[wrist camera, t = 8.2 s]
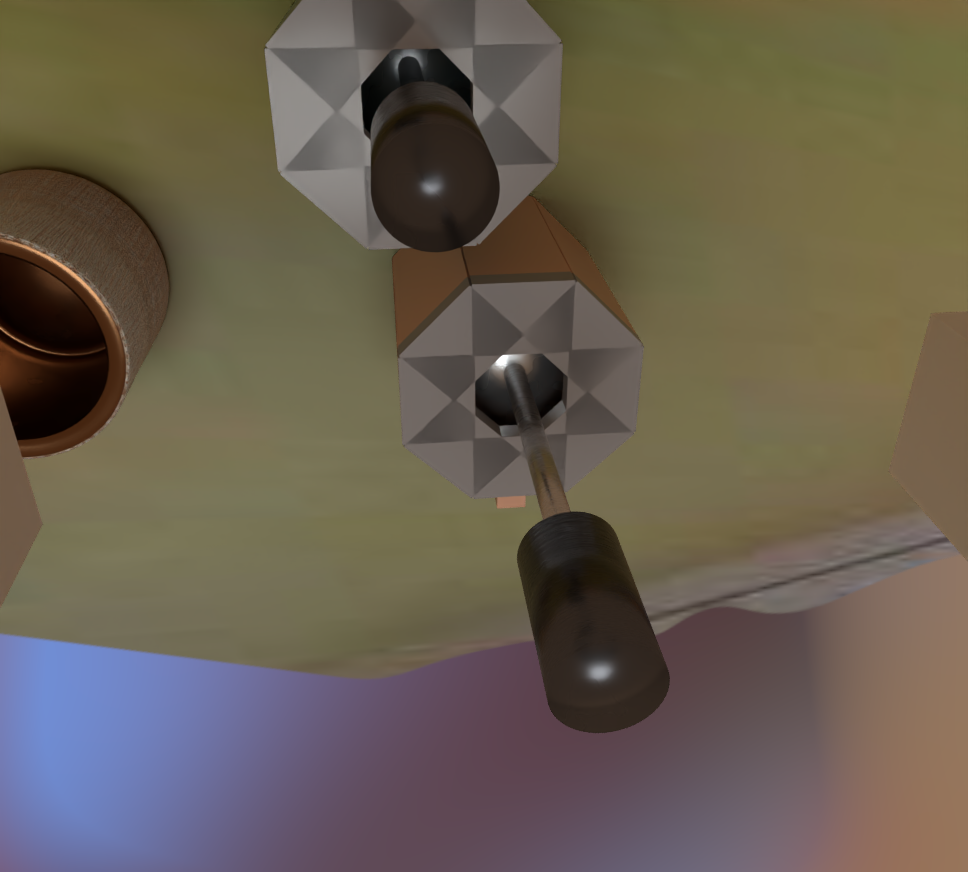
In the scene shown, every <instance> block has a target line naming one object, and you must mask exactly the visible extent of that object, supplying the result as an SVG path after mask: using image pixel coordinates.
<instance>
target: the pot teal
mask: <svg viewBox="0 0 968 872" xmlns="http://www.w3.org/2000/svg"><path fill="white" fill-rule="evenodd" d="M561 41H562V40H561V39H560V38H559V37H558V36H557V35H556V34H555V32H554V31H553V30H552V29H551V28H550V27H549V26H548V25H547V23H546V22H545V21H544V20H543V19H542V18H541V17H540V16H539V15H538V13H537V12H536V11H535V10H534V9H533V8H532V7H531V6H530V4H529V3H528V2H527V1H526V0H296V1H295V2H294V4H293V5H292V6H291V7H290V9H289V10H288V12H287V13H286V15H285V16H284V18H283V19H282V21H281V22H280V24H279V25H278V27H277V28H276V30H275V31H274V33H273V34H272V36H271V37H270V39H269V40H268V42H267V43H266V45H265V46H266V47H265V48H264V51H265V59H266V68H267V77H268V86H269V94H270V103H271V112H272V121H273V129H274V138H275V147H276V156H277V164H278V171H280V175H281V176H283V177H284V178H285V179H286V180H287V181H288V182H290V183H291V184H292V185H293V186H294V187H295V188H297V189H298V190H299V191H300V192H301V193H302V194H303V195H305V196H306V197H307V198H308V199H309V200H310V201H312V202H313V203H314V204H315V205H316V206H317V207H319V208H320V209H321V210H322V211H323V212H324V213H325V214H327V215H328V216H329V217H330V218H331V219H332V220H334V221H335V222H336V223H337V224H338V225H339V226H341V227H342V228H343V229H344V230H345V231H346V232H347V233H349V234H350V235H351V236H352V237H353V238H354V239H356V240H357V241H358V242H359V243H360V244H361V245H363V246H364V247H365V248H366V249H367V247H368V246H369V250H372V249H399V248H411V247H408V246H406V245H404V244H403V243H401V242H399V241H398V240H396V239H395V238H394V237H393V236H392V235H391V234H390V233H389V232H388V231H387V230H386V229H385V228H384V227H383V225H382V224H381V222H380V220H379V219H378V217H377V215H376V212H375V210H374V207H373V203H372V198H371V134H370V133H369V132H368V131H367V130H366V129H365V128H364V122H363V107H362V92H361V84H362V83H363V82H364V81H365V80H366V79H367V77H368V76H369V75H370V74H371V73H372V72H373V71H374V69H375V68H376V67H377V66H378V65H379V64H380V63H381V61H382V60H383V59H384V58H385V57H386V56H387V55H388V53H389V52H390V51H391V50H392V49H440V50H441V51H442V52H443V53H444V54H445V55H446V56H447V57H448V58H449V59H450V60H451V61H452V62H453V63H454V64H455V65H456V66H457V67H458V68H459V69H460V70H461V71H462V72H463V73H464V74H465V75H466V76H467V78H468V79H469V80H470V92H471V112H472V114H473V116H474V118H475V120H476V123H477V125H478V127H479V129H480V131H481V134H482V136H483V138H484V140H485V142H486V145H487V147H488V149H489V151H490V153H491V156H492V158H493V160H494V162H495V165H496V168H497V171H498V175H499V182H500V194H499V200H498V205H497V208H496V211H495V213H494V215H493V217H492V220H491V221H490V223H489V224H488V226H487V227H486V228H485V229H484V231H483V232H482V233H481V234H480V235H479V236H477V237H476V238H475V239H474V240H472V241H471V242H469V243H468V244H466V245H464V246H477V243H478V244H480V243H481V242H482V241H483V240H484V239H485V238H486V237H487V236H488V235H489V234H490V233H491V232H492V231H493V230H494V229H495V228H496V227H497V226H498V225H499V224H500V223H501V222H502V221H503V220H504V219H505V218H506V217H507V216H508V215H509V214H510V213H511V212H512V211H513V210H514V209H515V208H516V207H517V206H518V205H519V204H520V203H521V202H522V201H523V200H524V199H525V198H526V197H527V196H528V195H529V194H530V193H531V192H532V191H533V190H534V189H535V188H536V187H537V185H538V184H539V183H540V182H541V181H542V180H543V179H544V178H545V177H546V176H547V175H548V174H549V173H550V172H551V171H552V170H553V169H554V168H555V167H556V166H557V165H556V164H555V163H558V150H559V125H560V100H561V74H562V49H563V43H562V42H561Z"/></svg>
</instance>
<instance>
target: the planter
mask: <svg viewBox="0 0 968 872" xmlns="http://www.w3.org/2000/svg"><path fill="white" fill-rule="evenodd" d="M168 297H169V279H168V273H167V268H166V264H165V261H164V257H163V255H162V252H161V250H160V247H159V245H158V243H157V242H156V240H155V238H154V236H153V235H152V233H151V231H150V230H149V228H148V227H147V226H146V224H145V223H144V222H143V221H142V219H141V218H140V217H139V216H138V215H137V214H136V213H135V212H134V211H133V210H132V209H131V208H130V207H129V206H128V205H127V204H126V203H124V202H123V201H122V200H121V199H120V198H118V197H117V196H115V195H114V194H112V193H111V192H109V191H108V190H106V189H104V188H103V187H101V186H99V185H97V184H95V183H93V182H91V181H89V180H86V179H84V178H81V177H78V176H75V175H71V174H68V173H63V172H59V171H53V170H43V169H29V170H18V171H12V172H8V173H4V174H1V175H0V387H1V390H2V393H3V397H4V400H5V403H6V407H7V410H8V413H9V416H10V420H11V423H12V426H13V429H14V433H15V436H16V439H17V442H18V446H19V449H20V452H21V455H22V459H33V458H42V457H48V456H53V455H57V454H60V453H64V452H67V451H69V450H72V449H74V448H76V447H78V446H80V445H82V444H84V443H86V442H88V441H89V440H91V439H92V438H93V437H95V436H96V435H97V434H99V433H100V432H101V431H102V430H103V429H104V428H105V427H106V426H107V425H108V424H109V423H110V421H111V420H112V419H113V418H114V416H115V415H116V413H117V412H118V410H119V409H120V407H121V405H122V403H123V401H124V399H125V397H126V395H127V393H128V391H129V389H130V387H131V385H132V383H133V381H134V379H135V377H136V375H137V373H138V371H139V369H140V367H141V365H142V363H143V361H144V359H145V358H146V356H147V354H148V352H149V350H150V348H151V346H152V344H153V342H154V340H155V339H156V337H157V335H158V333H159V331H160V329H161V327H162V324H163V322H164V319H165V315H166V311H167V306H168Z"/></svg>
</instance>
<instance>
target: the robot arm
mask: <svg viewBox="0 0 968 872" xmlns="http://www.w3.org/2000/svg"><path fill="white" fill-rule="evenodd" d="M889 473H890V474H891V475H892V476H893V477H894V478H895V479H896V481H897V482H898V483H899V484H900V485H901V486H902V487H903V489H904V490H905V491H906V492H907V493H908V494H909V495H910V496H911V498H912V499H913V500H914V501H915V502H916V503H917V504H918V506H919V507H920V508H921V509H922V510H923V511H924V512H925V513H926V515H927V516H928V517H929V518H930V519H931V520H932V521H933V523H934V524H935V525H936V526H937V527H938V528H939V529H940V530H941V532H942V533H943V534H944V535H945V536H946V537H947V538H948V540H949V541H950V542H951V543H952V544H953V545H954V546H955V547H956V549H957V550H958V551H959V552H960V553H961V554H962V555H963V557H964V558H965V559H966V560H967V561H968V312H946V313H931V316H930V320H929V323H928V327H927V331H926V335H925V338H924V342H923V346H922V349H921V353H920V357H919V361H918V364H917V368H916V372H915V375H914V379H913V383H912V387H911V390H910V394H909V398H908V401H907V405H906V409H905V412H904V416H903V420H902V424H901V427H900V431H899V435H898V438H897V442H896V446H895V450H894V453H893V457H892V461H891V464H890V468H889ZM41 526H42V521H41V518H40V514H39V511H38V508H37V504H36V501H35V498H34V495H33V491H32V488H31V485H30V482H29V478H28V475H27V472H26V469H25V465H24V462H23V459H22V455H21V452H20V449H19V446H18V442H17V439H16V436H15V433H14V429H13V426H12V423H11V420H10V416H9V413H8V410H7V407H6V403H5V400H4V397H3V393H2V390H1V387H0V607H1V605H2V604H3V602H4V600H5V598H6V596H7V594H8V592H9V590H10V588H11V586H12V584H13V582H14V580H15V578H16V576H17V574H18V572H19V570H20V568H21V566H22V564H23V562H24V560H25V558H26V556H27V554H28V552H29V550H30V548H31V546H32V544H33V542H34V540H35V538H36V536H37V534H38V532H39V530H40V528H41Z"/></svg>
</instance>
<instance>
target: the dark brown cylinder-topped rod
mask: <svg viewBox="0 0 968 872" xmlns="http://www.w3.org/2000/svg"><path fill="white" fill-rule="evenodd" d="M361 92H362V107H363V122H364V128H365V129H366V130H367V131H368V132H369V133H370V134H371V198H372V203H373V207H374V210H375V212H376V215H377V217H378V219H379V220H380V222H381V224H382V225H383V227H384V228H385V229H386V230H387V231H388V232H389V233H390V234H391V235H392V236H393V237H394V238H395V239H396V240H398V241H399V242H401V243H403V244H404V245H406V246H408V247H411V248H413V249H416V250H420V251H425V252H446V251H450V250H454V249H457V248H460V247H462V246H464V245H466V244H468V243H469V242H471V241H472V240H474V239H475V238H476V237H477V236H479V235H480V234H481V233H482V232H483V231H484V229H485V228H486V227H487V226H488V224H489V223H490V221H491V220H492V217H493V215H494V213H495V211H496V208H497V205H498V200H499V194H500V182H499V175H498V171H497V168H496V165H495V162H494V160H493V158H492V156H491V153H490V151H489V149H488V147H487V145H486V142H485V140H484V138H483V136H482V134H481V131H480V129H479V127H478V125H477V123H476V120H475V118H474V116H473V114H472V112H471V92H470V80H469V79H468V78H467V76H466V75H465V74H464V73H463V72H462V71H461V70H460V69H459V68H458V67H457V66H456V65H455V64H454V63H453V62H452V61H451V60H450V59H449V58H448V57H447V56H446V55H445V54H444V53H443V52H442V51H441V50H440V49H392V50H391V51H390V52H389V53H388V55H387V56H386V57H385V58H384V59H383V60H382V61H381V63H380V64H379V65H378V66H377V67H376V68H375V69H374V71H373V72H372V73H371V74H370V75H369V76H368V77H367V79H366V80H365V81H364V82H363V83H362V84H361Z"/></svg>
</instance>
